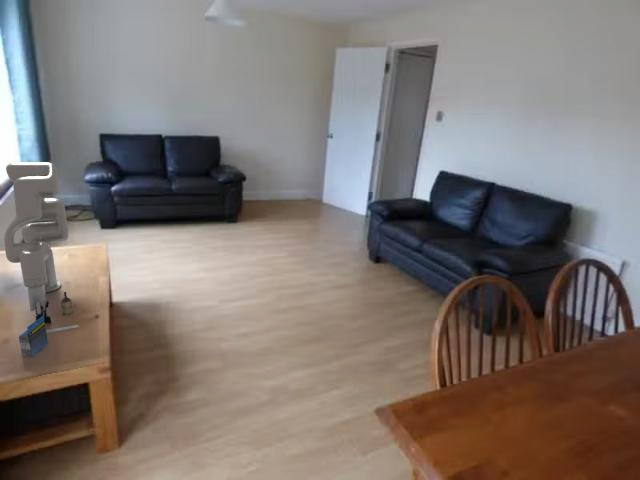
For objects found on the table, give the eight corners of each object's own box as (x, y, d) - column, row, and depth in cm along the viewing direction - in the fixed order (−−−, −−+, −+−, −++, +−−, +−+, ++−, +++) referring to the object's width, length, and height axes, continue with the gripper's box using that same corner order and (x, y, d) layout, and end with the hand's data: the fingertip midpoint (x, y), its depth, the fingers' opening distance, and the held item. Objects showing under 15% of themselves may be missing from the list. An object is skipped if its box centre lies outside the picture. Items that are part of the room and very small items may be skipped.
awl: (62, 312, 177) (59, 291, 173) (73, 310, 179) (70, 289, 175) (62, 316, 174) (59, 295, 170) (73, 314, 176) (70, 293, 172)
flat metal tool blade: (39, 332, 162) (39, 331, 162) (77, 325, 169) (77, 324, 169) (39, 334, 160) (39, 334, 160) (78, 327, 167) (78, 326, 167)
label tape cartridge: (38, 342, 156) (33, 313, 152) (48, 343, 156) (44, 314, 152) (21, 356, 147) (16, 326, 143) (32, 357, 147) (27, 327, 143)
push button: (34, 330, 162) (31, 307, 159) (30, 325, 165) (26, 302, 162) (53, 324, 167) (50, 301, 164) (49, 319, 170) (45, 297, 167)
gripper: (24, 273, 165) (31, 314, 171) (22, 290, 151) (29, 334, 158) (46, 270, 168) (52, 310, 175) (47, 287, 155) (53, 330, 161)
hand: (41, 321), depth 166 cm, fingers closed on push button, 3 cm apart
